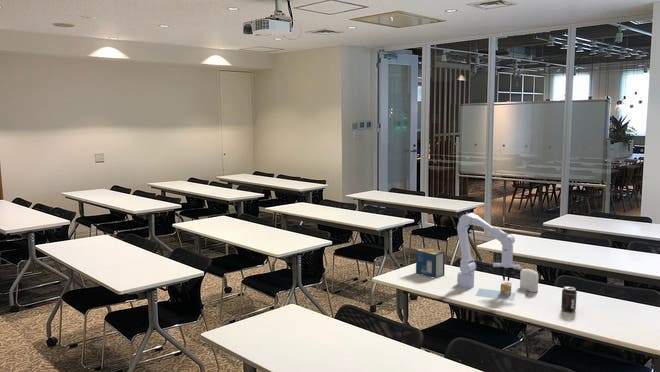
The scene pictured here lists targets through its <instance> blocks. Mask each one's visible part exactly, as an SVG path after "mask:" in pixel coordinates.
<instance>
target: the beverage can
mask: <svg viewBox="0 0 660 372" xmlns="http://www.w3.org/2000/svg"><path fill="white" fill-rule="evenodd" d="M577 297H578V292H577V290H576V288H575V287H574V286H563V289H562V290H561V306H560V307H561V308H560V309H562V311H564V312H567V313H574V312H576V310H577Z"/></svg>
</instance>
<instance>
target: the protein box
mask: <svg viewBox="0 0 660 372" xmlns="http://www.w3.org/2000/svg"><path fill="white" fill-rule="evenodd" d="M415 251H416V255H415V274H418V273H419V274H418V275H421V274H423V275H422V276H425V275H426V276H425V277H428V276H430V277H429V278H431V277H436V278H438V277H437V276H440V277H442V276H441V275H443V276H445V264H446V262H445V259H446V252H445V250H444V251H443V250H439V249H435V248H430V247H422V248H417V249H416V250H415Z"/></svg>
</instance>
